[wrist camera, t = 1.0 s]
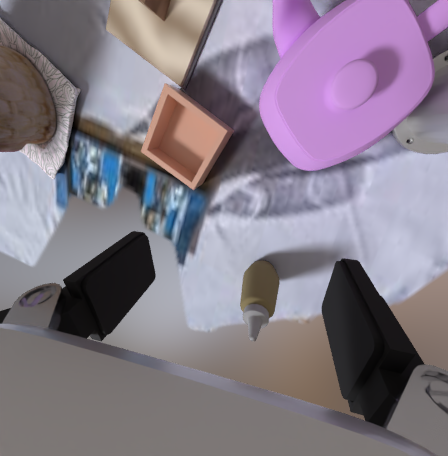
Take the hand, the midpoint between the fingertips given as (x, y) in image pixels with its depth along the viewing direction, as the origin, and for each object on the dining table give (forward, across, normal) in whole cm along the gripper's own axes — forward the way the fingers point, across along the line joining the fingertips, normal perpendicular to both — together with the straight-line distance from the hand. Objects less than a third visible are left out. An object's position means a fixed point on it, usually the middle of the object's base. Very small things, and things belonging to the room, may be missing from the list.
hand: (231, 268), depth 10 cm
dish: (+31, +14, -4) cm, 34 cm away
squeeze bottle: (+31, -2, +24) cm, 39 cm away
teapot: (+31, -7, -10) cm, 33 cm away
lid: (+31, +18, -23) cm, 42 cm away
